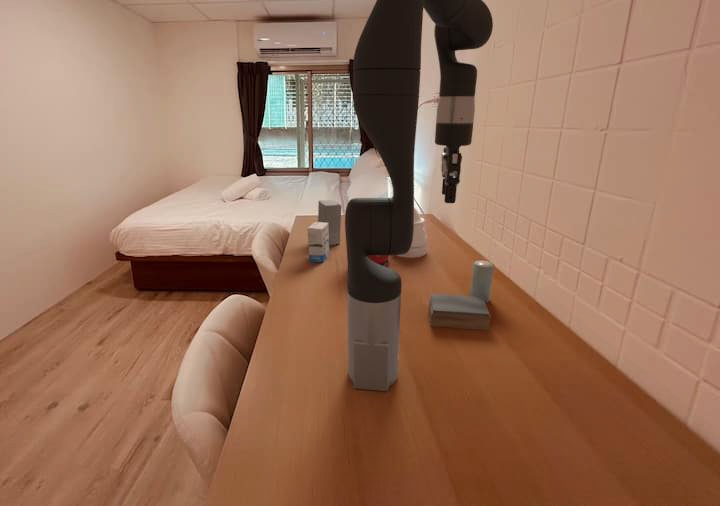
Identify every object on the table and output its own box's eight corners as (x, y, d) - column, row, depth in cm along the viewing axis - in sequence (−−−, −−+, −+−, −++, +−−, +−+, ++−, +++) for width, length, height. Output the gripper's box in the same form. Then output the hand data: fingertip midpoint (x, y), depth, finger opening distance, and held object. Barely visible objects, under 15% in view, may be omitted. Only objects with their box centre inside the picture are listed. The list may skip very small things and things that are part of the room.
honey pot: (426, 258, 126) (430, 206, 120) (388, 256, 128) (390, 205, 122) (426, 246, 138) (429, 198, 132) (391, 244, 140) (393, 197, 134)
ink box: (322, 263, 122) (321, 229, 118) (308, 262, 123) (306, 228, 119) (330, 254, 130) (329, 222, 126) (316, 253, 131) (315, 221, 127)
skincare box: (317, 240, 144) (315, 200, 139) (334, 238, 147) (333, 198, 142) (324, 247, 137) (323, 205, 132) (342, 244, 140) (341, 203, 135)
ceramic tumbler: (491, 304, 95) (496, 268, 92) (471, 302, 96) (475, 267, 93) (487, 295, 100) (492, 260, 97) (468, 294, 101) (472, 259, 97)
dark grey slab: (488, 330, 84) (491, 314, 82) (430, 326, 85) (431, 310, 84) (481, 310, 92) (483, 296, 91) (428, 307, 94) (429, 293, 92)
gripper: (478, 121, 69) (469, 206, 75) (468, 120, 82) (461, 192, 88) (438, 121, 70) (432, 205, 76) (434, 120, 83) (429, 191, 89)
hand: (448, 198), depth 82 cm, fingers open, 8 cm apart
